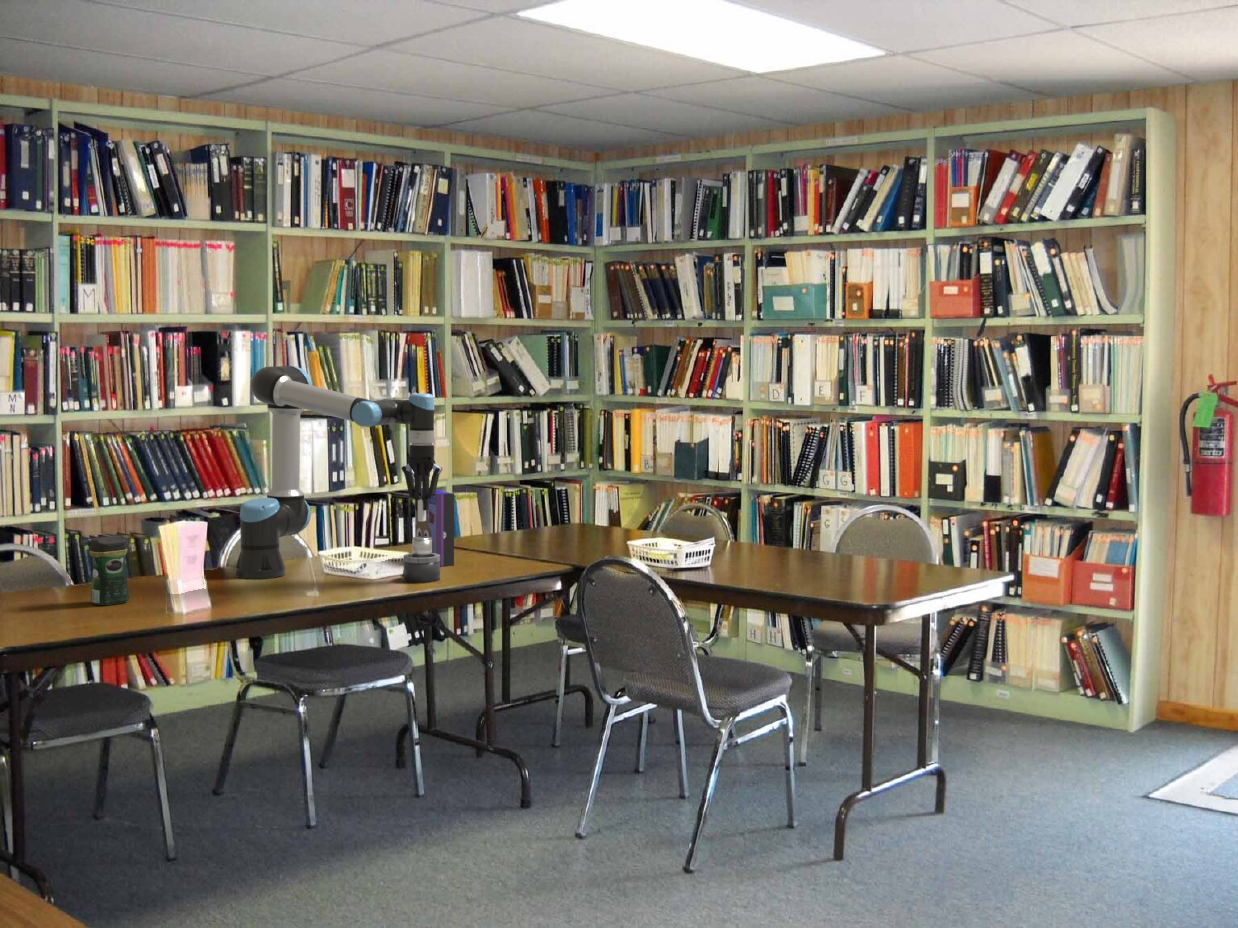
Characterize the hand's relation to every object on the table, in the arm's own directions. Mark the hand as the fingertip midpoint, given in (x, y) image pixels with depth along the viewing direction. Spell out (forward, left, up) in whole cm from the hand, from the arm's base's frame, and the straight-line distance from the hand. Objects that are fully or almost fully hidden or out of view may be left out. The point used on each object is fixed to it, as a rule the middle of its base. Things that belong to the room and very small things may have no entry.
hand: (422, 520), depth 409 cm
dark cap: (-6, +6, -19) cm, 20 cm away
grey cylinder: (0, 0, -12) cm, 12 cm away
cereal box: (-10, +30, -19) cm, 37 cm away
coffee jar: (-64, -64, -19) cm, 92 cm away
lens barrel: (0, 0, -18) cm, 18 cm away
